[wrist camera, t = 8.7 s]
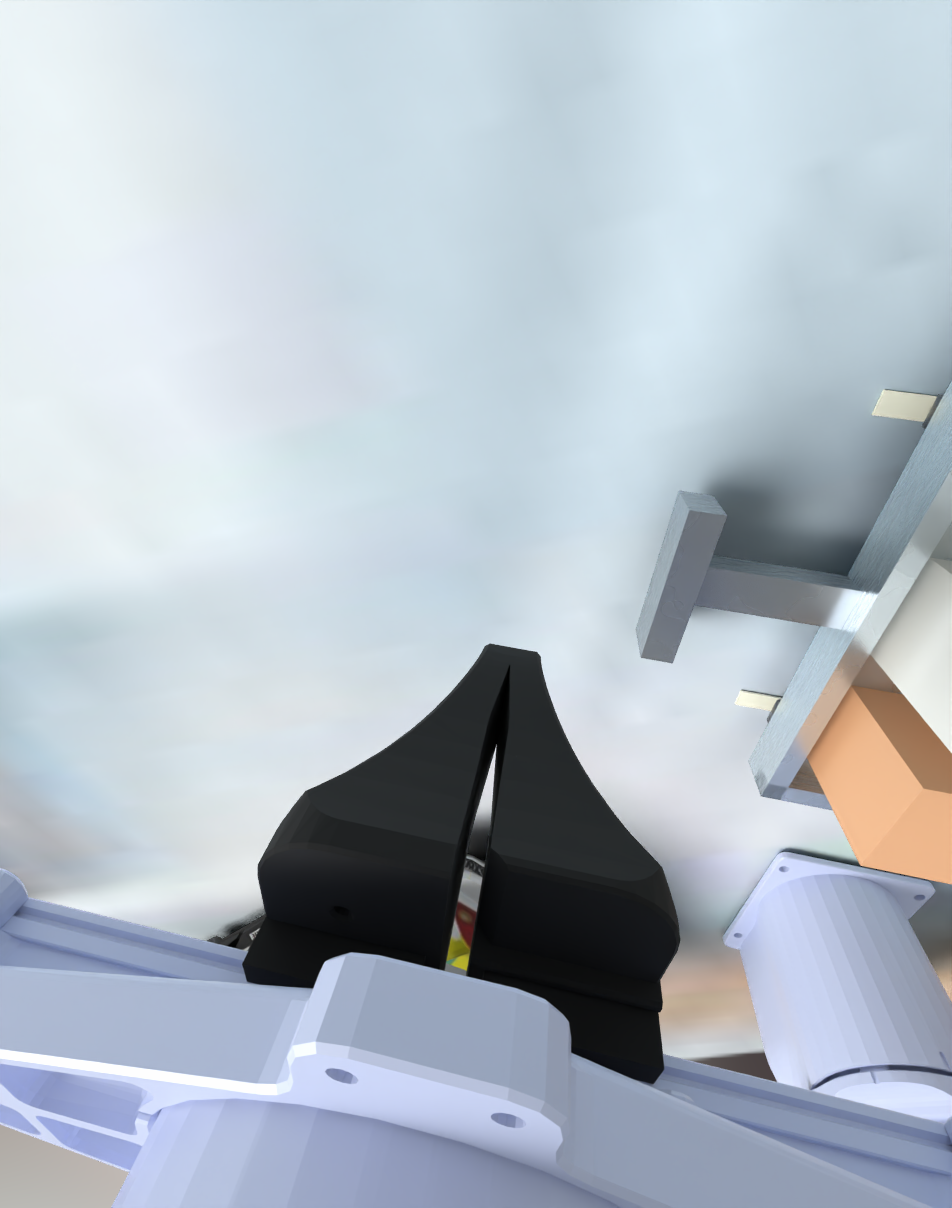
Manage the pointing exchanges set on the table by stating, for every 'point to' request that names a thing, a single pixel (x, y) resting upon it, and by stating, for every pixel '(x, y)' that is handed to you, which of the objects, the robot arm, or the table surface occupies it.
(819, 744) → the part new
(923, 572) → the part
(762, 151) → the table surface
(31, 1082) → the robot arm
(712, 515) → the beam with t-bracket
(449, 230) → the table surface
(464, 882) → the racing car
